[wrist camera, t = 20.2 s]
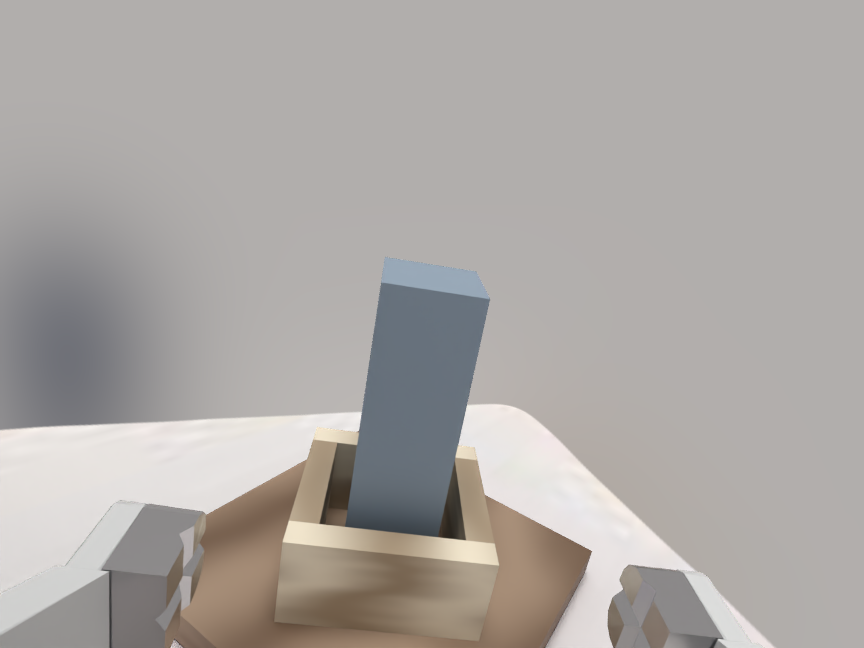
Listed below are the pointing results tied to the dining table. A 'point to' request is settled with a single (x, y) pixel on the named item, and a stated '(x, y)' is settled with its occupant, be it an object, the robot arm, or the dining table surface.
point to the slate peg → (415, 396)
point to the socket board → (259, 565)
